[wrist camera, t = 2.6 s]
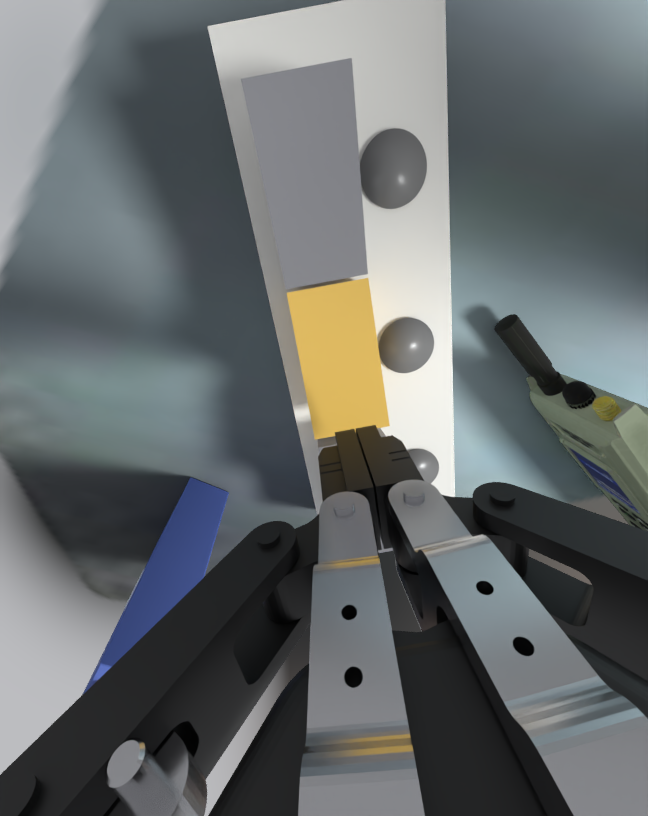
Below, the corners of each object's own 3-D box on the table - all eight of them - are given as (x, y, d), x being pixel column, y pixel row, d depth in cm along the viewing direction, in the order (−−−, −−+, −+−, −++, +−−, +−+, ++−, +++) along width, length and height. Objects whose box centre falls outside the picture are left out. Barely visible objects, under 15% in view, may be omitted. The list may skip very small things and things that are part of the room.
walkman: (190, 476, 23) (92, 674, 12) (229, 491, 24) (170, 693, 13) (149, 555, 26) (38, 781, 15) (186, 568, 26) (106, 791, 15)
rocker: (362, 283, 15) (368, 277, 13) (382, 417, 16) (389, 426, 15) (289, 297, 15) (286, 292, 14) (314, 429, 16) (314, 439, 15)
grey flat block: (343, 69, 11) (351, 57, 10) (360, 263, 15) (367, 274, 13) (245, 87, 11) (240, 78, 10) (285, 277, 15) (285, 289, 13)
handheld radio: (640, 548, 29) (468, 339, 21) (676, 524, 28) (513, 298, 20) (735, 625, 23) (544, 370, 15) (784, 596, 22) (612, 312, 14)
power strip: (409, 46, 15) (446, -23, 11) (432, 490, 25) (456, 532, 21) (229, 80, 15) (206, 23, 11) (322, 510, 25) (326, 556, 21)
